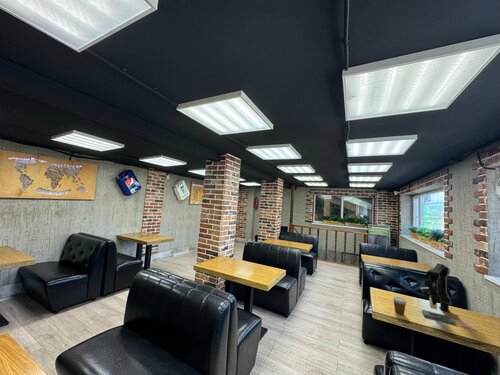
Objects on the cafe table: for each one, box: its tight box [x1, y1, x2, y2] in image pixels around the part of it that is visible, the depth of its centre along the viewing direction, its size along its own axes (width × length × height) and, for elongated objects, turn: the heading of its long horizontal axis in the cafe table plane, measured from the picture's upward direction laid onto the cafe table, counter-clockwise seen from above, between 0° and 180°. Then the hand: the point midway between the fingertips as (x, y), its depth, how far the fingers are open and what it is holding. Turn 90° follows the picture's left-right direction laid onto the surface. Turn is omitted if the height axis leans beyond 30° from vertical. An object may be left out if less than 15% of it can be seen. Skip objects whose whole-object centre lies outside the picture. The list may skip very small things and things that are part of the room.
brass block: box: [429, 297, 438, 310], centre depth 177 cm, size 4×4×8 cm
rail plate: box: [421, 309, 457, 326], centre depth 175 cm, size 10×20×2 cm, turn 60°
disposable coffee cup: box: [392, 296, 407, 316], centre depth 179 cm, size 10×10×12 cm
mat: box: [454, 319, 478, 331], centre depth 166 cm, size 10×10×1 cm
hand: (433, 304), depth 177 cm, fingers closed on brass block, 4 cm apart
